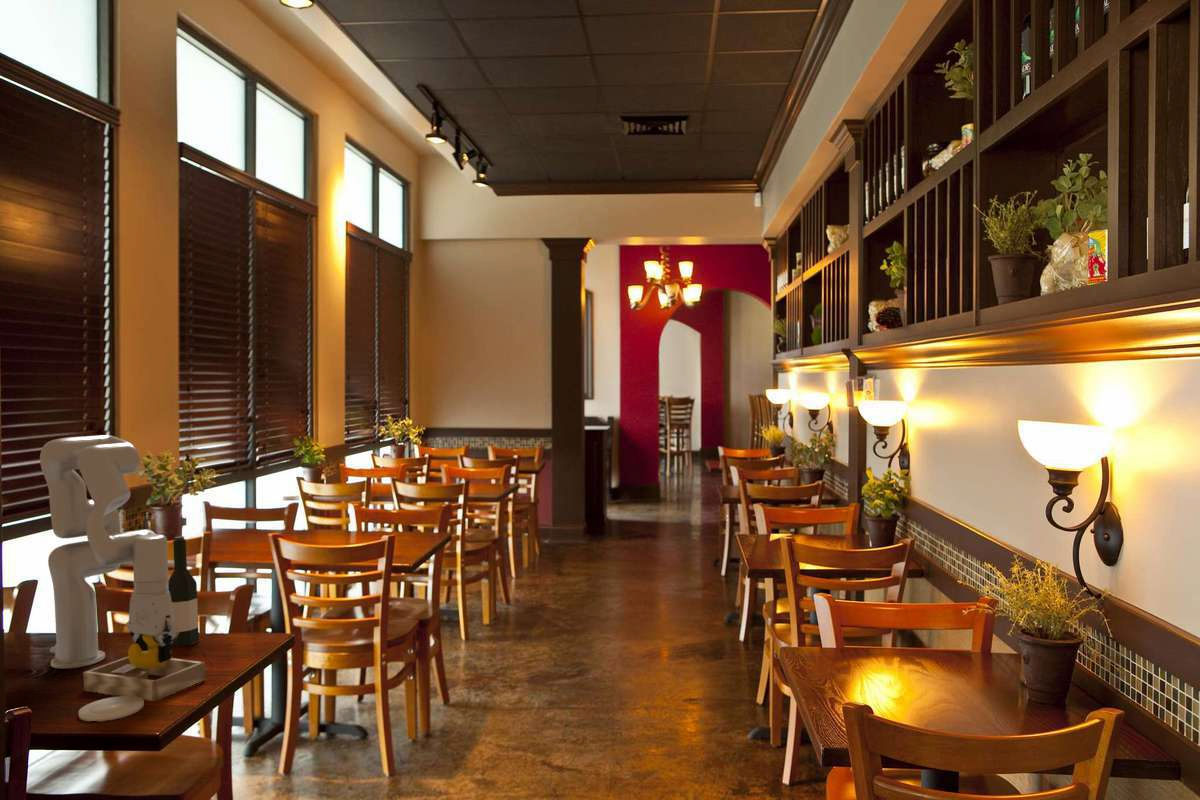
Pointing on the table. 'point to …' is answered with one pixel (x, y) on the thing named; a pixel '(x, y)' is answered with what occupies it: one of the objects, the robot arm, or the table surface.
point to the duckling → (146, 653)
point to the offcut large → (142, 675)
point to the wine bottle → (183, 597)
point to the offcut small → (127, 671)
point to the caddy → (175, 679)
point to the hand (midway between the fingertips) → (153, 658)
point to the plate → (111, 708)
